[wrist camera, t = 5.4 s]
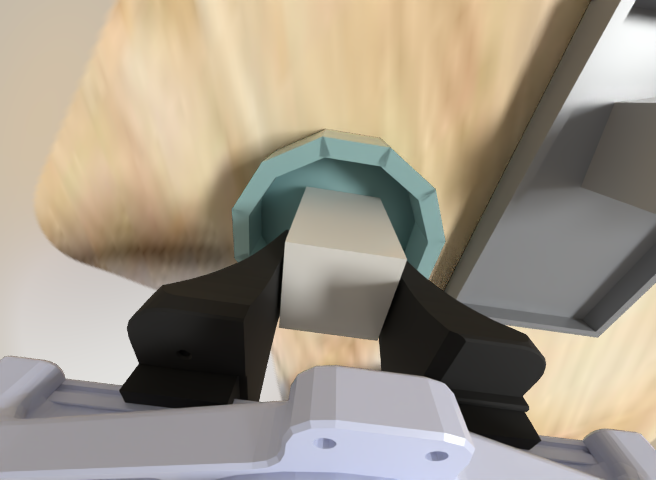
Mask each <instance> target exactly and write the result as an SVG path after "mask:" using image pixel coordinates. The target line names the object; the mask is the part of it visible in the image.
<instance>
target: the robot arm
mask: <svg viewBox="0 0 656 480" xmlns="http://www.w3.org/2000/svg"><path fill="white" fill-rule="evenodd" d="M288 233H289V230H285V231H284V232H283V233H281V234H280V235H279V236H278V237H277V238H275V239H274V240H273V241H272V242H270V243H269V244H268V245H266V246H265V247H264V248H262V249H261V250H259V251H258V252H256V253H255V254H253V255H251V256H250V257H248V258H246V259H244V260H242V261H240V262H238V263H236V264H234V265H231V266H229V267H226V268H224V269H221V270H219V271H216V272H213V273H210V274H207V275H204V276H200V277H197V278H193V279H190V280H185V281H180V282H176V283H171V284H167V285H162V286H161V287H160V288H159V289H158V290H157V291H156V292H155V293H154V294H153V295H152V296H151V297H150V298H149V299H148V300H147V301H146V302H145V303H144V305H143V306H142V307H141V308H140V309H139V310H138V311H137V312H136V313H135V314H134V315H133V316H132V318H131V319H130V320H129V322H128V326H127V331H128V336H129V339H130V342H131V344H132V347H133V349H134V351H135V354H136V357H137V359H138V362H139V365H138V366H137V367H136V369H135V370H134V371H133V373H132V374H131V375H130V377H129V378H128V379H127V380H126V382H125V383H124V384H123V386H122V385H113V384H106V383H97V382H89V381H80V380H72V379H65V375H64V373H63V371H62V369H61V368H60V367H59V366H58V365H57V364H55V363H53V362H50V361H46V360H40V359H32V358H23V357H15V356H6V357H4V358H3V359H1V360H0V480H656V450H655V449H654V448H653V447H652V446H651V444H650V443H649V442H648V441H647V440H646V439H645V438H644V437H643V436H642V434H639V433H637V432H630V431H622V430H614V429H599V430H595V431H593V432H591V433H589V434H588V435H587V436H586V437H584V439H583V441H582V440H574V439H566V438H557V437H549V436H541V435H538V434H537V432H536V430H535V429H534V427H533V425H532V424H531V422H530V420H529V419H528V417H527V415H526V413H525V412H527V411H528V410H529V406H528V404H527V403H526V401H525V399H524V398H523V395H524V394H525V393H526V392H527V391H528V390H529V389H530V388H531V387H532V386H533V385H534V384H535V383H536V382H537V381H538V380H539V379H540V378H541V376H542V375H543V374H544V371H545V367H546V361H545V358H544V356H543V355H542V354H541V353H540V351H539V350H538V349H537V347H536V346H535V345H534V344H533V342H532V341H531V340H530V338H529V337H528V336H527V335H526V334H524V333H521V332H519V331H517V330H515V329H512V328H510V327H508V326H506V325H503V324H501V323H499V322H497V321H494V320H492V319H490V318H488V317H487V316H485V315H483V314H481V313H479V312H477V311H475V310H473V309H471V308H470V307H468V306H466V305H464V304H463V303H461V302H459V301H458V300H456V299H455V298H453V297H451V296H450V295H448V294H447V293H445V292H444V291H443V290H441V289H440V288H438V287H437V286H436V285H434V284H433V283H432V282H430V281H429V280H428V279H427V278H426V277H424V276H423V275H422V274H421V273H420V272H419V271H418V270H416V269H415V268H414V267H413V266H412V265H411V264H410V263H409V262H408V261H406V264H405V267H404V270H403V272H402V275H401V278H400V280H399V283H398V286H397V289H396V291H395V294H394V297H393V299H392V302H391V305H390V308H389V310H388V313H387V316H386V318H385V321H384V324H383V327H382V329H381V332H380V335H379V346H380V357H381V371H377V370H369V369H362V368H354V367H346V366H338V365H328V366H315V367H313V368H310V369H308V370H306V371H303V372H301V373H300V374H298V375H297V377H296V378H295V380H294V381H293V383H292V385H291V388H290V394H289V400H285V401H272V402H259V399H260V394H261V390H262V385H263V381H264V376H265V372H266V368H267V363H268V359H269V355H270V350H271V346H272V342H273V338H274V334H275V330H276V326H277V322H278V319H279V316H280V308H281V293H282V279H283V265H284V251H285V241H286V238H287V236H288Z"/></svg>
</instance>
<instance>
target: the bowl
mask: <svg viewBox="0 0 656 480" xmlns="http://www.w3.org/2000/svg"><path fill="white" fill-rule="evenodd" d="M306 187H313V188H320V189H326V190H333V191H339V192H345V193H352V194H358V195H365V196H371V197H378V198H380V199H381V201H382V204H383V206H384V208H385V210H386V213H387V215H388V217H389V220H390V222H391V224H392V226H393V229H394V231H395V233H396V235H397V238H398V240H399V242H400V244H401V247H402V249H403V251H404V254H405V256H406V258H407V261H408V262H409V263H410V264H411V265H412V266H413V267H414V268H415V269H416V270H418V271H419V272H420V273H421V274H422V275H423V276H424V277H426V278H427V279H429V277H430V274H431V272H432V270H433V268H434V266H435V263H436V261H437V259H438V257H439V254H440V252H441V250H442V248H443V246H444V243H445V236H444V231H443V226H442V220H441V215H440V210H439V204H438V199H437V194H436V189H435V188H434V187H433V186H432V185H431V184H430V183H429V182H427V181H426V180H425V179H424V178H423V177H422V176H421V175H420V174H419V173H418V172H416V171H415V170H414V169H413V168H412V167H411V166H410V165H409V164H408V163H406V162H405V161H404V160H403V159H402V158H401V157H400V156H399V155H398V154H397V153H396V152H395V151H394V150H392V149H391V147H390V146H389V145H388V144H387V143H385V142H384V141H383V140H382V139H381V138H378V137H372V136H366V135H360V134H353V133H347V132H341V131H335V130H329V129H325V130H322V131H320V132H318V133H315V134H313V135H311V136H308V137H306V138H304V139H301V140H299V141H297V142H294V143H292V144H290V145H287V146H285V147H283V148H281V149H278V150H276V151H275V152H274V153H272V154H271V155H270V156H269V157H267V158H266V159H265V160H264V161H262V162H261V164H260V166H259V168H258V169H257V171H256V172H255V174H254V175H253V177H252V179H251V180H250V182H249V183H248V185H247V186H246V188H245V190H244V191H243V193H242V194H241V196H240V197H239V199H238V201H237V202H236V204H235V205H234V207H233V208H232V221H233V239H234V258H235V259H236V261H237V262H240V261H242V260H244V259H246V258H248V257H250V256H251V255H253V254H255V253H256V252H258V251H259V250H261V249H262V248H264V247H265V246H266V245H268V244H269V243H270V242H272V241H273V240H274V239H275V238H277V237H278V236H279V235H280V234H281V233H283V232H284V231H285V230H290V228H291V225H292V223H293V220H294V218H295V215H296V212H297V210H298V207H299V205H300V202H301V199H302V197H303V194H304V192H305V189H306Z"/></svg>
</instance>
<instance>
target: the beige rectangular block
mask: <svg viewBox="0 0 656 480" xmlns="http://www.w3.org/2000/svg"><path fill="white" fill-rule="evenodd" d="M406 261H407V258H406V256H405V254H404V251H403V249H402V247H401V244H400V242H399V240H398V238H397V235H396V233H395V231H394V229H393V226H392V224H391V222H390V220H389V217H388V215H387V213H386V210H385V208H384V206H383V204H382V201H381V199H380V198H378V197H371V196H365V195H358V194H352V193H345V192H339V191H333V190H326V189H320V188H313V187H306V189H305V192H304V194H303V197H302V199H301V202H300V205H299V207H298V210H297V212H296V215H295V218H294V220H293V223H292V225H291V228H290V230H289V233H288V236H287V238H286V241H285V251H284V265H283V279H282V293H281V308H280V322H279V328H285V329H293V330H300V331H308V332H315V333H323V334H331V335H338V336H346V337H353V338H361V339H369V340H376V341H377V340H378V337H379V335H380V332H381V329H382V327H383V324H384V321H385V318H386V316H387V313H388V310H389V308H390V305H391V302H392V299H393V297H394V294H395V291H396V289H397V286H398V283H399V280H400V278H401V275H402V272H403V270H404V267H405V264H406Z"/></svg>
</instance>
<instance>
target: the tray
mask: <svg viewBox="0 0 656 480" xmlns="http://www.w3.org/2000/svg"><path fill="white" fill-rule="evenodd" d="M655 97H656V0H591V2H590V4H589V6H588V8H587V10H586V11H585V13H584V15H583V17H582V19H581V21H580V23H579V25H578V27H577V29H576V31H575V33H574V35H573V37H572V39H571V41H570V43H569V45H568V47H567V49H566V51H565V53H564V55H563V57H562V59H561V61H560V63H559V65H558V67H557V69H556V71H555V73H554V75H553V77H552V79H551V81H550V83H549V85H548V87H547V88H546V90H545V92H544V94H543V96H542V98H541V100H540V102H539V104H538V106H537V108H536V110H535V112H534V114H533V116H532V118H531V120H530V122H529V124H528V126H527V128H526V130H525V132H524V134H523V136H522V138H521V140H520V142H519V144H518V146H517V148H516V150H515V152H514V154H513V156H512V158H511V160H510V162H509V164H508V165H507V167H506V169H505V171H504V173H503V175H502V177H501V179H500V181H499V183H498V185H497V187H496V189H495V191H494V193H493V195H492V197H491V199H490V201H489V203H488V205H487V207H486V209H485V211H484V213H483V215H482V217H481V219H480V221H479V223H478V225H477V227H476V229H475V231H474V233H473V235H472V237H471V239H470V240H469V242H468V244H467V246H466V248H465V250H464V252H463V254H462V256H461V258H460V260H459V262H458V264H457V266H456V268H455V270H454V272H453V274H452V276H451V278H450V280H449V282H448V284H447V286H446V288H445V290H444V292H445V293H447V294H448V295H450V296H451V297H453V298H455V299H456V300H458V301H459V302H461V303H463V304H464V305H466V306H468V307H470V308H471V309H473V310H475V311H477V312H479V313H481V314H483V315H485V316H487V317H488V318H490V319H492V320H494V321H497V322H499V323H501V324H503V325H510V326H517V327H525V328H532V329H539V330H547V331H554V332H561V333H569V334H576V335H583V336H590V337H599V336H600V335H601V334H602V333H603V332H604V331H605V330H606V329H607V328H608V327H610V326H611V325H612V324H613V323H614V322H615V321H616V320H617V319H618V318H619V317H620V316H621V315H622V314H623V313H624V312H625V311H626V310H627V309H629V308H630V307H631V306H632V305H633V304H634V303H635V302H636V301H637V300H638V299H639V298H640V297H641V296H642V295H643V294H644V293H645V292H646V291H648V290H649V289H650V288H651V287H652V286H653V285H654V284H655V283H656V214H654V213H651V212H649V211H646V210H643V209H640V208H637V207H635V206H632V205H629V204H626V203H624V202H621V201H618V200H615V199H612V198H610V197H607V196H604V195H601V194H599V193H596V192H593V191H590V190H587V189H585V188H582V187H581V185H582V183H583V180H584V178H585V175H586V173H587V170H588V168H589V165H590V163H591V160H592V158H593V155H594V153H595V151H596V148H597V146H598V143H599V141H600V138H601V136H602V133H603V131H604V128H605V126H606V123H607V121H608V118H609V116H610V113H611V111H612V108H613V106H614V103H615V102H622V101H631V100H639V99H647V98H655Z"/></svg>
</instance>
